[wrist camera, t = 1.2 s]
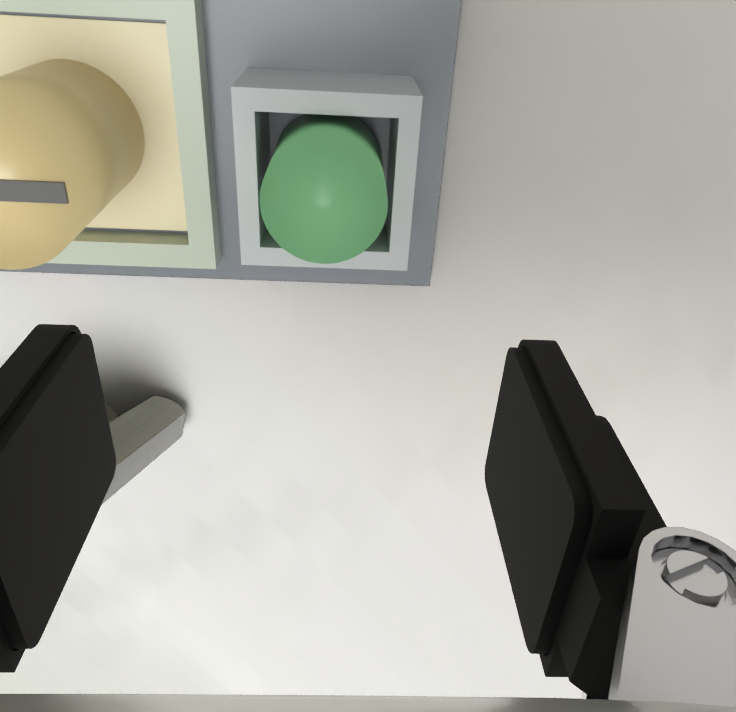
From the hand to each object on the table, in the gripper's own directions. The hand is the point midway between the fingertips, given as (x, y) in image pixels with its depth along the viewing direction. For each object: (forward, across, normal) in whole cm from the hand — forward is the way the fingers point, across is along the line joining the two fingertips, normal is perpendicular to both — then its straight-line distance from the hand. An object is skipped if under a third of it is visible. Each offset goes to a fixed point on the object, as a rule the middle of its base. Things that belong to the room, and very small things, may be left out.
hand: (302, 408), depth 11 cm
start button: (+15, 0, 0) cm, 15 cm away
